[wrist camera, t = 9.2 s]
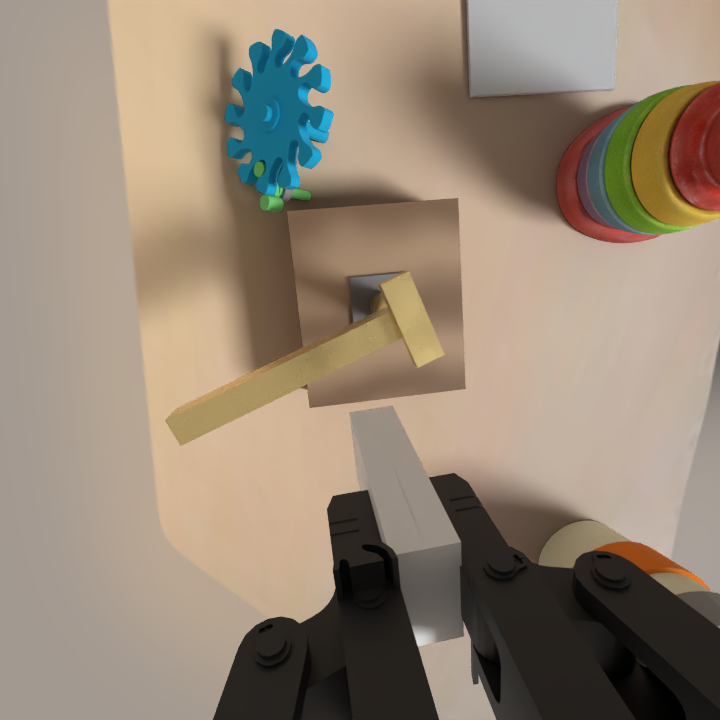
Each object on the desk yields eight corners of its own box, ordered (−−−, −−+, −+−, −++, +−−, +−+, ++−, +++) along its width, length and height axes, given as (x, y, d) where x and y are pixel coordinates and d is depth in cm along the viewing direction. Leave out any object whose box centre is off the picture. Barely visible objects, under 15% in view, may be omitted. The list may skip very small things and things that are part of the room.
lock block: (289, 219, 35) (286, 210, 30) (437, 207, 36) (459, 197, 31) (308, 390, 38) (309, 409, 33) (445, 373, 39) (466, 389, 34)
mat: (463, -84, 33) (465, -88, 32) (616, -85, 34) (620, -89, 33) (469, 97, 35) (471, 95, 35) (611, 90, 36) (615, 88, 36)
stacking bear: (666, 235, 39) (951, 209, 22) (558, 258, 39) (767, 249, 21) (661, 102, 37) (975, -44, 20) (546, 123, 36) (768, -9, 19)
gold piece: (382, 269, 31) (412, 269, 23) (409, 330, 32) (448, 353, 24) (187, 363, 31) (142, 400, 22) (221, 421, 32) (191, 478, 23)
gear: (224, 30, 31) (330, 16, 25) (288, 63, 35) (390, 58, 30) (210, 198, 34) (301, 219, 29) (270, 208, 39) (358, 228, 33)
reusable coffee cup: (632, 605, 47) (780, 756, 33) (519, 622, 46) (620, 788, 31) (642, 496, 45) (807, 607, 30) (522, 511, 43) (634, 634, 29)
